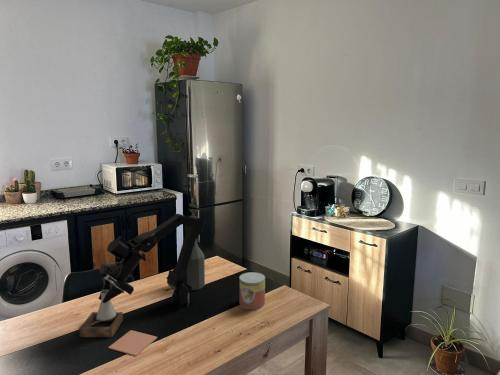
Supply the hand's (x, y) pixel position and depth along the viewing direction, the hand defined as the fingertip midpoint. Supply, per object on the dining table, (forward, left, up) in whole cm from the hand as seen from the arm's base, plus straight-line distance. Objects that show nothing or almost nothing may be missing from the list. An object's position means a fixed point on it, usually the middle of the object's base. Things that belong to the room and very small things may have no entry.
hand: (101, 301), depth 140 cm
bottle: (-28, -42, -13) cm, 52 cm away
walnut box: (+2, -4, -13) cm, 14 cm away
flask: (-1, -1, -7) cm, 7 cm away
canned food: (-56, -25, -13) cm, 63 cm away
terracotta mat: (-13, +6, -13) cm, 19 cm away
